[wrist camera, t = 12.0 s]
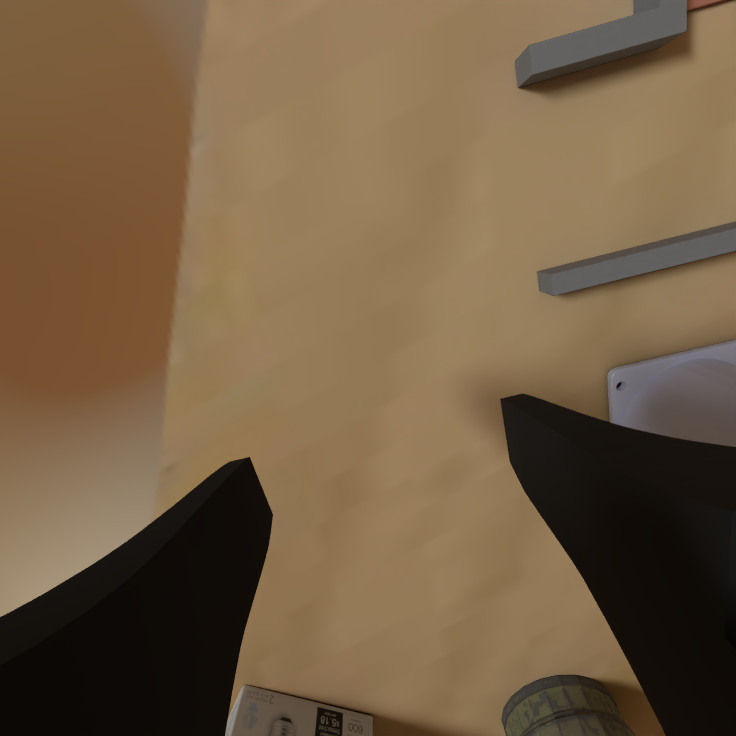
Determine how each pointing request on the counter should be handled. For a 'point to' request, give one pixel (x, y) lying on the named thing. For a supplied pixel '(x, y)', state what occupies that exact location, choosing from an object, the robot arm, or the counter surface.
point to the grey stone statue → (563, 709)
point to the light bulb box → (291, 717)
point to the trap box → (598, 46)
